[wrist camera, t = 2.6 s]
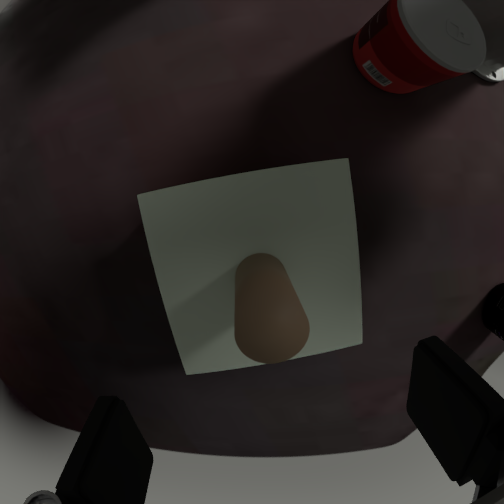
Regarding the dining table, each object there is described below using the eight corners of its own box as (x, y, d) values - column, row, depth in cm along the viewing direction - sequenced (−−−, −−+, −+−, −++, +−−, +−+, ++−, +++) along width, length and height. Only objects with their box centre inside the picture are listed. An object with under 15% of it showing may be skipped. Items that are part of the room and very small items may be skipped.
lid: (142, 193, 19) (86, 210, 11) (341, 158, 19) (403, 155, 11) (188, 365, 23) (171, 445, 15) (357, 335, 23) (401, 403, 15)
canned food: (422, 101, 26) (494, 83, 15) (351, 89, 25) (409, 54, 15) (415, 36, 24) (476, 0, 13) (346, 21, 23) (392, -34, 13)
